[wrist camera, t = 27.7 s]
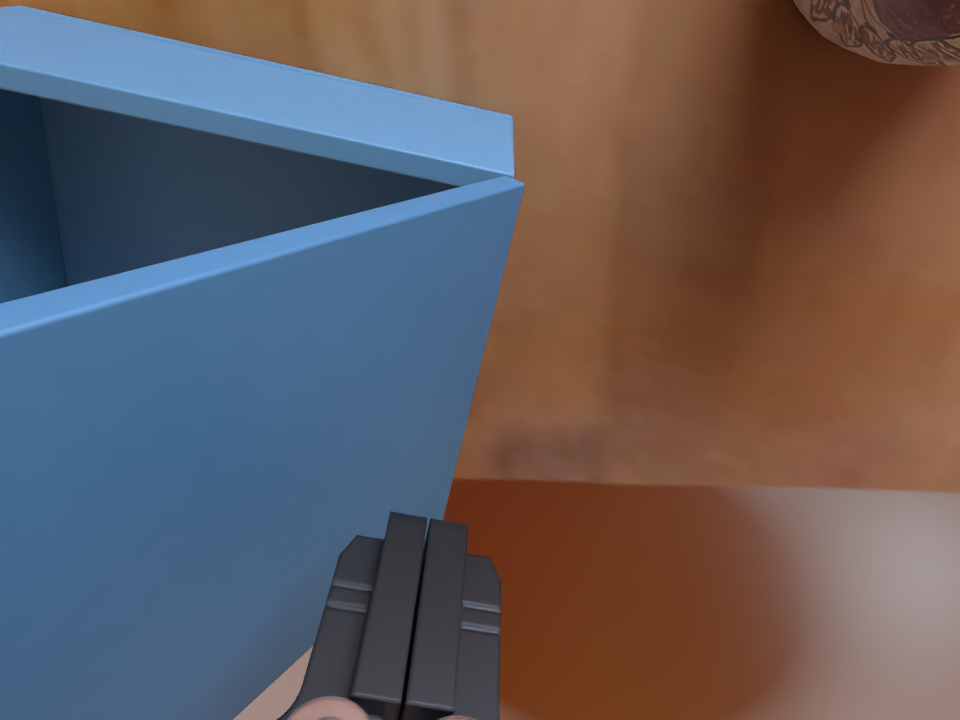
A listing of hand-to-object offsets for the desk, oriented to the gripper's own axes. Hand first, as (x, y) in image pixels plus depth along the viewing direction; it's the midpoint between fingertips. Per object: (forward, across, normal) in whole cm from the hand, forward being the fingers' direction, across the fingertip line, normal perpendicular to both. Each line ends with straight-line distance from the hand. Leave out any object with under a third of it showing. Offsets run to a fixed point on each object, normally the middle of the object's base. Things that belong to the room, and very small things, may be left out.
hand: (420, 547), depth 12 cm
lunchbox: (+13, +7, 0) cm, 15 cm away
